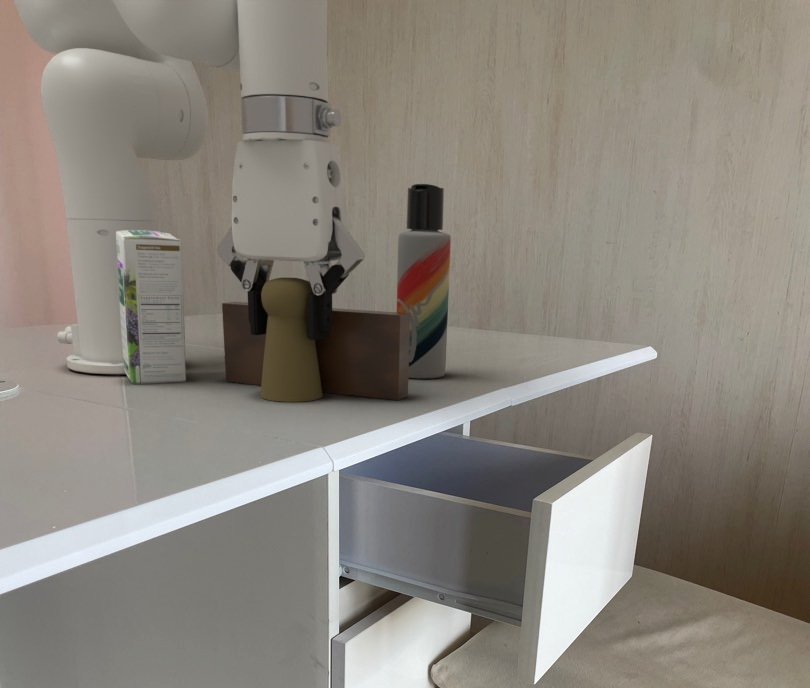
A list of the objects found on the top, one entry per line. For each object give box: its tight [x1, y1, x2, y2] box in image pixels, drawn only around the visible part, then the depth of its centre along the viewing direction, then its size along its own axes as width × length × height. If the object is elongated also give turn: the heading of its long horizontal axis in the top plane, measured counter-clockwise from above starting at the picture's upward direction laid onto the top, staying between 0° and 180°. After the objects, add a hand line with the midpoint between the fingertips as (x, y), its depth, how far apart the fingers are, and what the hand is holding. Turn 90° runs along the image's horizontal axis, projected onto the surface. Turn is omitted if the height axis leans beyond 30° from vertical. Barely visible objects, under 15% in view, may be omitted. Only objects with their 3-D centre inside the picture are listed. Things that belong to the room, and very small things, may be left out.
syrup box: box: [116, 230, 187, 385], centre depth 86 cm, size 6×6×14 cm
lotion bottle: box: [396, 183, 452, 380], centre depth 91 cm, size 6×6×20 cm
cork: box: [259, 277, 324, 403], centre depth 79 cm, size 6×6×11 cm
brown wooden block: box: [221, 301, 410, 401], centre depth 84 cm, size 20×2×8 cm, turn 66°
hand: (290, 334), depth 79 cm, fingers open, 5 cm apart
